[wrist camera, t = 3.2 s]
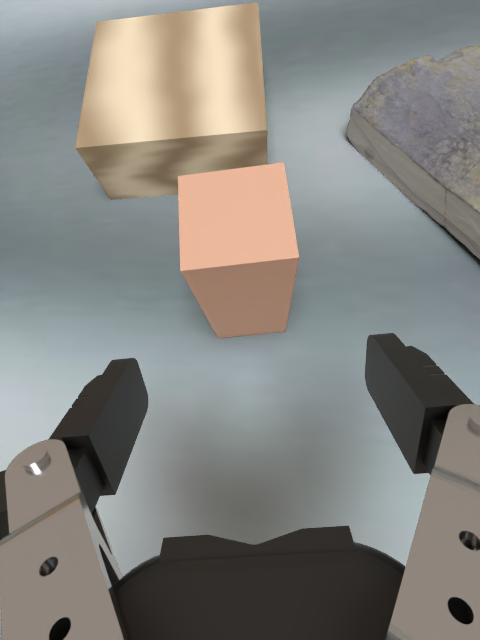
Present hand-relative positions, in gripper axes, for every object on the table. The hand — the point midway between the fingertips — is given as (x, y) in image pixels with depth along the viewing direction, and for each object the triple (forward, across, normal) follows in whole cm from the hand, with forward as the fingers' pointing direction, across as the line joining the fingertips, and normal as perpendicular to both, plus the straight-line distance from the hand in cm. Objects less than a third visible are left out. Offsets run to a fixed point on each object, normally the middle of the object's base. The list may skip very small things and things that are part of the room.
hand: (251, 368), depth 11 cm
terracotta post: (+13, 0, +3) cm, 14 cm away
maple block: (+26, +4, -9) cm, 28 cm away
